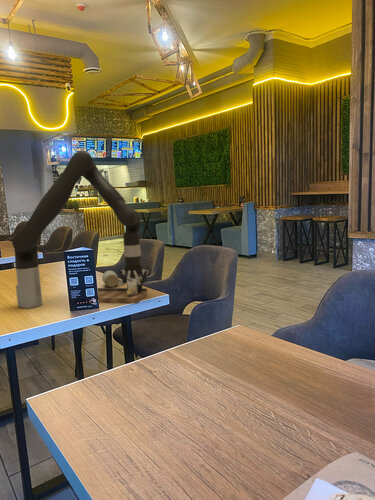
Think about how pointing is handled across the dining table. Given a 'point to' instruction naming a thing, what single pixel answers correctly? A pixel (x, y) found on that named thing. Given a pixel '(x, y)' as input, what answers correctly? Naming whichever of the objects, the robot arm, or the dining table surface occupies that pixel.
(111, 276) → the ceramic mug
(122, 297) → the walnut board
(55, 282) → the dining table surface
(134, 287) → the marking gauge
